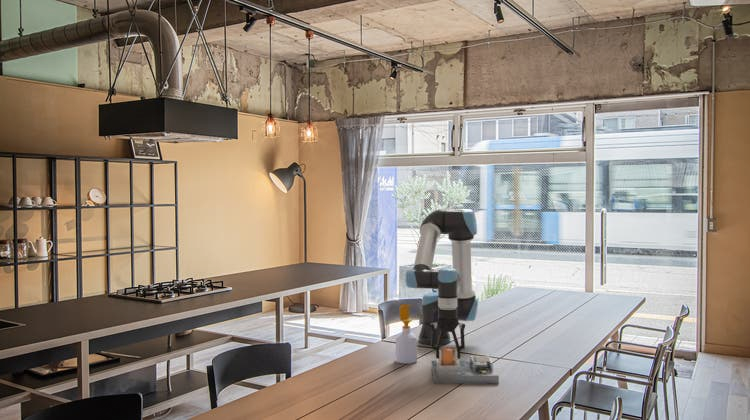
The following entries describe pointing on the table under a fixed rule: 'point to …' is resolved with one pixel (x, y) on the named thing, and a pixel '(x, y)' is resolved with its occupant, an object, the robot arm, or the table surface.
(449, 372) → the breaker panel
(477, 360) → the block
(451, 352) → the cap
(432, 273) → the robot arm
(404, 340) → the soap bottle
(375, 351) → the table surface
